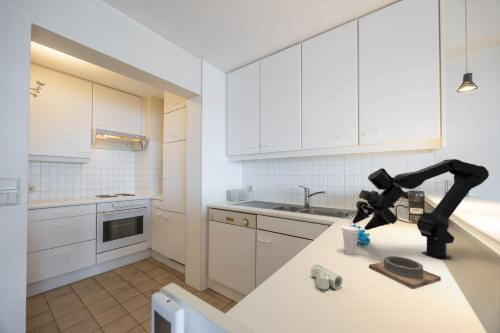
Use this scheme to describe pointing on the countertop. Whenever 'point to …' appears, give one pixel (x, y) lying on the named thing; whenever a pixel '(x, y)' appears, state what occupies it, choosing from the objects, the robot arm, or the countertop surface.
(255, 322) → the countertop surface
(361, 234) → the gear
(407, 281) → the collar stand
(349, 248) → the smoothie
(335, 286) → the pipe fitting
